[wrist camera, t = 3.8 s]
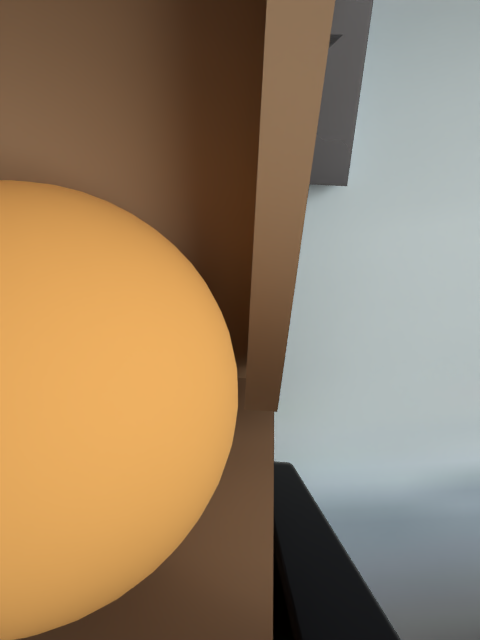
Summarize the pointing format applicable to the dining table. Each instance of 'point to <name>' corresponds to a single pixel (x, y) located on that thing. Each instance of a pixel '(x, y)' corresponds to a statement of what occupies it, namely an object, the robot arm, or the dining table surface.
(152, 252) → the ball
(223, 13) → the brown wooden ramp
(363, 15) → the fulcrum
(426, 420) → the dining table surface
